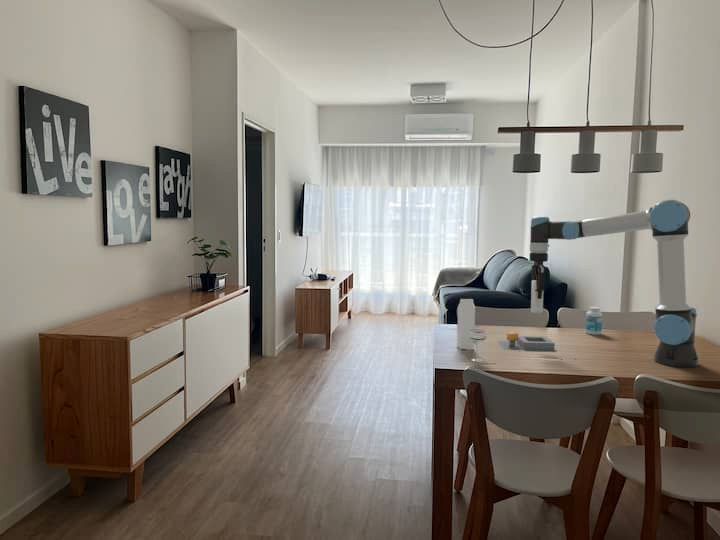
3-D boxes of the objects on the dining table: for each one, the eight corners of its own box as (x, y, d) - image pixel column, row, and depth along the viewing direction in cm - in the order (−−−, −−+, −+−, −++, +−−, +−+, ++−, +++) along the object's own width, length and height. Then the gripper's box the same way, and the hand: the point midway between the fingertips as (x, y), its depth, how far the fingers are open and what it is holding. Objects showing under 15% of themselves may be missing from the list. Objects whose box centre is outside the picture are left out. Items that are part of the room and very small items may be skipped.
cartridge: (544, 313, 226) (545, 281, 224) (532, 313, 226) (533, 281, 225) (540, 311, 231) (542, 280, 229) (529, 311, 231) (530, 280, 230)
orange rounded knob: (519, 341, 228) (519, 334, 227) (508, 340, 228) (508, 334, 228) (516, 338, 233) (516, 332, 232) (505, 338, 233) (505, 331, 233)
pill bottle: (581, 332, 264) (583, 306, 262) (592, 331, 267) (593, 305, 266) (594, 335, 257) (595, 308, 256) (604, 334, 260) (606, 308, 259)
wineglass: (482, 357, 213) (483, 329, 212) (487, 362, 206) (488, 332, 205) (466, 357, 212) (467, 329, 211) (470, 362, 206) (471, 332, 205)
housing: (556, 353, 221) (556, 344, 221) (504, 351, 223) (504, 342, 223) (545, 344, 237) (546, 335, 237) (497, 343, 239) (497, 334, 239)
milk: (456, 346, 232) (457, 298, 230) (470, 346, 232) (471, 297, 231) (460, 349, 226) (461, 300, 224) (474, 349, 226) (475, 299, 224)
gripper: (553, 253, 217) (551, 308, 219) (541, 251, 235) (540, 302, 237) (535, 253, 217) (533, 308, 219) (525, 251, 235) (523, 301, 237)
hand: (536, 304), depth 228 cm, fingers closed on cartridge, 5 cm apart
